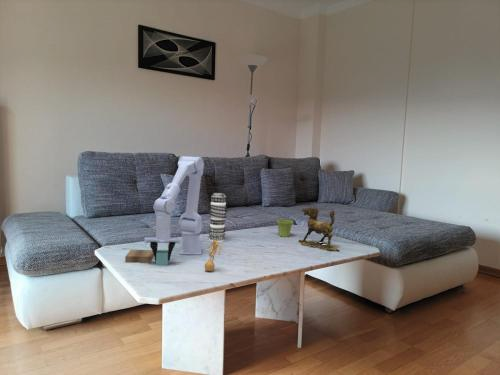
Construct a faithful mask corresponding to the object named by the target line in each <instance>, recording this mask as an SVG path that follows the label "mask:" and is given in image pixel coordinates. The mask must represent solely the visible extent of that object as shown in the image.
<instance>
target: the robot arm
mask: <svg viewBox="0 0 500 375" xmlns="http://www.w3.org/2000/svg"><path fill="white" fill-rule="evenodd" d="M177 167H178V168H177V170H176V172H175V174H174V176H173V178H172V180H171V182H170V183H168V184H166V187H165V188H164V190H163V192H162V194H161V196H160V197H159V198H157V199H156V200H155V201H154V203H153V205H152V206H153V207H152V208H153V211H154V214H155V216H156V218H155V219H156V220H155V221H156V222H155V229H156V230H155V236H152V237H151V236H150V237H144V238H143V239H144V241H143V242H144V244H149V247H150V250H152V251H153V254H154V257H153V258H154V261H155V262H156V253H157V251H158V247H159V246H158V244H168V245H167V248H168V249H167V250H168V261H169V262H170V261H171V256H172V254H173V250H174V248H175V247H176V246H175V245H176V244H180V245H181V249H180V252H179V254H180V255H198V256H200V255H202V251H203V233H200V232H202V229H203V221H202V220H203V217H202V216H201V215H200V214H199V213H198V210H199V209H198V208H199V199H200V190H201V183H202V182H201V181H202V176H203V175H204V174H203V173H204V168H205V162H204V160H203V158H202V157H201V156H186V155H182V156H180V157H179V160H178V162H177ZM186 176H188V177H189V181H188V188H187V194H186V195H187V198H186V206H185V211H184V213H182V214H181V215H180V218H179V221H178V223H177V224H178V225H177V227H178V230H179V231H180V234H181V237H172V236H171V226H172V225H171V220H172V212H173V211H174V209H175V204H176V199H177V198H178V195H179V193H180V191H181V188H180V186H181V185H182V184H183V181H184V180H185V178H186Z"/></svg>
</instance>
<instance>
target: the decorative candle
mask: <svg viewBox="0 0 500 375" xmlns="http://www.w3.org/2000/svg"><path fill="white" fill-rule="evenodd" d="M210 197H211V198H210V200H211V201H210V203H209V208H210V209H209V213H208V214H209V215H210V216H209V219H210V223H209V233H208V238H209V239H208V240H209V242H212V243H213V241H217V242H219V243H222V242H225V241H226V233H225V232H226V229H227V228H226V219H227V216H226V215H227V213H226V212H227V211H228V210H227V207H228V206H226V205H227V201H226V200H227V199H226V197H227V196H226V195H225V193H224V192H223V193H222V192H214V193H212V195H211V196H210Z"/></svg>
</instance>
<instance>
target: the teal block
mask: <svg viewBox="0 0 500 375" xmlns="http://www.w3.org/2000/svg"><path fill="white" fill-rule="evenodd" d="M169 263H170V261H168V249H167V250H166V249H163V250H161V249H157V253H156V261H155V265H156V266H168V265H169Z"/></svg>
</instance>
